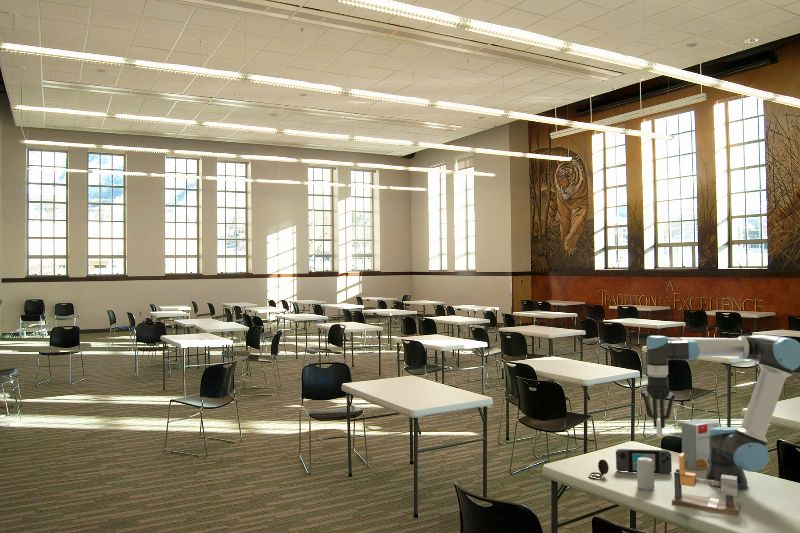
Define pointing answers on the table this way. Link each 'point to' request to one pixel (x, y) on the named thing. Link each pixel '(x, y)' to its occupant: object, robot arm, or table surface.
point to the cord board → (709, 504)
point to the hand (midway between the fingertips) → (659, 435)
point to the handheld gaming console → (629, 457)
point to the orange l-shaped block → (685, 473)
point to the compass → (601, 469)
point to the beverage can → (645, 473)
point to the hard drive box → (697, 443)
